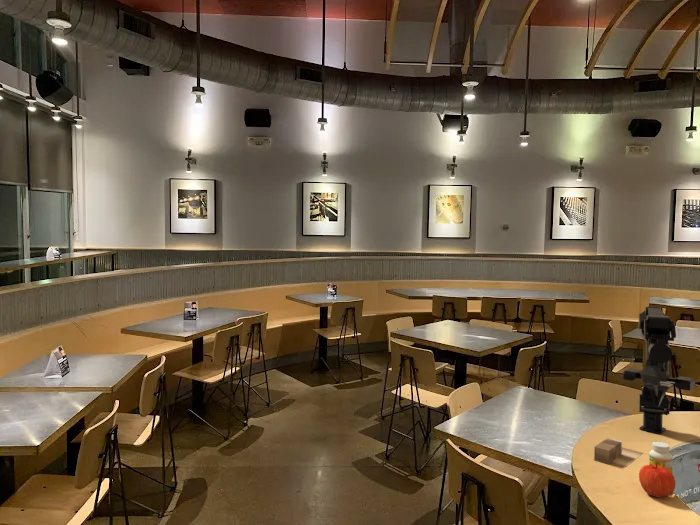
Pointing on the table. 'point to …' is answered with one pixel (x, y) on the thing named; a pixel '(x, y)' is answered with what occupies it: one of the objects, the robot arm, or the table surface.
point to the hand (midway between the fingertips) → (657, 406)
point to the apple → (657, 480)
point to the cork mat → (627, 457)
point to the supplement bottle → (661, 456)
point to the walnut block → (608, 450)
